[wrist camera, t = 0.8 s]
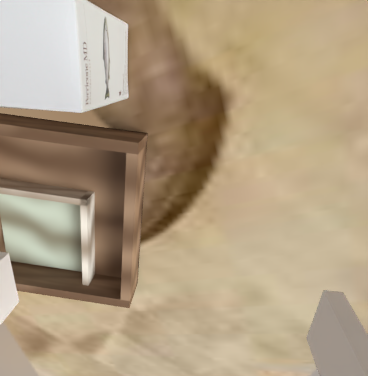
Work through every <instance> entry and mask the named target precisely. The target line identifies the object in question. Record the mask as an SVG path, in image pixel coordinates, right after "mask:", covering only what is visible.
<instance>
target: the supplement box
mask: <svg viewBox="0 0 368 376" xmlns="http://www.w3.org/2000/svg"><path fill="white" fill-rule="evenodd" d="M128 97H129V96H128V24H127V23H125V22H124V21H122V20H120V19H118V18H116V17H115V16H113V15H111V14H109V13H108V12H106V11H104V10H102V9H101V8H99V7H97V6H96V5H94V4H92V3H91V2H89V1H87V0H0V107H4V108H5V107H6V108H20V109H36V110H50V111H64V112H76V113H83V112H86V111H89V110H93V109H96V108H99V107H102V106H105V105H108V104H111V103H115V102H118V101H121V100H124V99H127V98H128Z"/></svg>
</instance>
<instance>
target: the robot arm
mask: <svg viewBox="0 0 368 376" xmlns="http://www.w3.org/2000/svg"><path fill="white" fill-rule="evenodd" d="M18 302H19V298H18V294H17V289H16V284H15V280H14V275H13V270H12V266H11V261H10V256H9V253H6V252H0V324H1V323H2V322H3V321H4V320H5V318H6V317H7V316H8V315H9V313H10V312H11V311H12V310H13V308H14V307H15V306H16V305H17V304H18ZM307 341H308V344H309V347H310V350H311V352H312V355H313V358H314V361H315V364H316V367H317V370H318V372H319V375H320V376H368V335H367V333H366V331H365V329H364V328H363V326H362V324H361V323H360V321H359V319H358V317H357V316H356V314H355V312H354V310H353V309H352V307H351V305H350V304H349V302H348V300H347V298H346V297H345V295H344V293H343V292H335V291H327V290H323V293H322V296H321V299H320V302H319V304H318V307H317V310H316V313H315V316H314V318H313V321H312V324H311V327H310V330H309V332H308V335H307Z"/></svg>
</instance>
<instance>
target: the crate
mask: <svg viewBox="0 0 368 376" xmlns="http://www.w3.org/2000/svg"><path fill="white" fill-rule="evenodd" d="M147 136H148V134H147V133H140V132H133V131H125V130H118V129H111V128H104V127H96V126H89V125H82V124H74V123H67V122H59V121H52V120H45V119H38V118H31V117H23V116H15V115H8V114H1V113H0V252H6V253H9V256H10V261H11V266H12V270H13V275H14V280H15V284H16V289H17V291H23V292H29V293H36V294H42V295H49V296H55V297H62V298H68V299H74V300H81V301H87V302H94V303H100V304H107V305H113V306H120V307H126V308H129V307H130V304H131V301H132V298H133V295H134V292H135V289H136V286H137V281H138V267H139V252H140V238H141V223H142V208H143V194H144V179H145V165H146V150H147Z"/></svg>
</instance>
